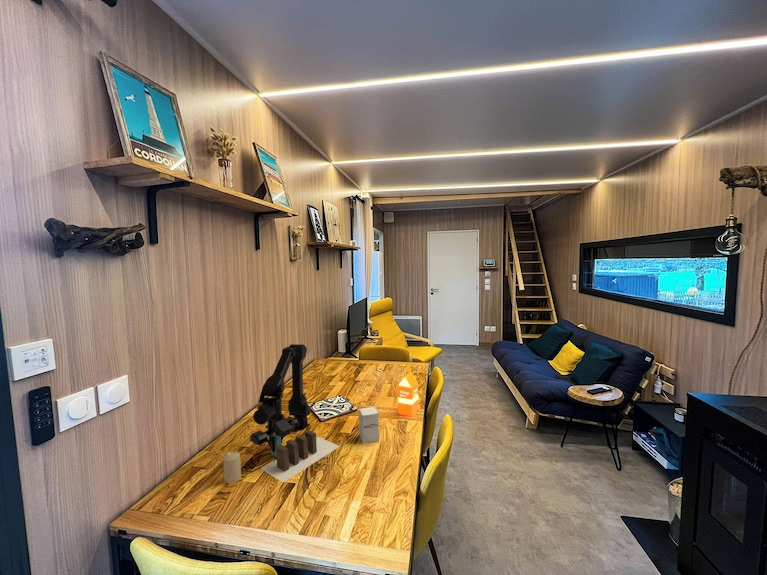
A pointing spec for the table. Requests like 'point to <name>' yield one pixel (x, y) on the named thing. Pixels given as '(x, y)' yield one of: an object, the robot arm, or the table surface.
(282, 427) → the robot arm
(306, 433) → the domino
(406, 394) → the orange juice
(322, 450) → the mat
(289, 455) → the domino
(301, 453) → the domino
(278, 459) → the domino
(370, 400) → the table surface
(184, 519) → the table surface
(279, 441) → the domino
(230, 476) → the candle
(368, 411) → the supplement box
